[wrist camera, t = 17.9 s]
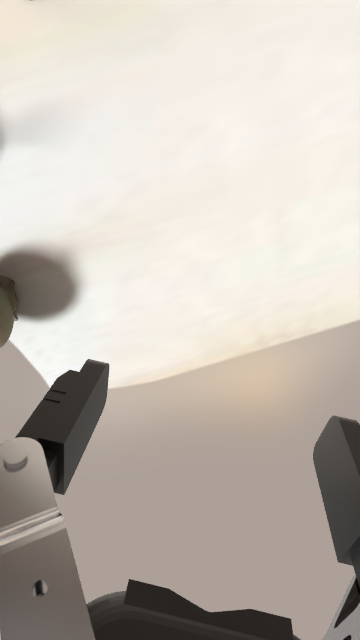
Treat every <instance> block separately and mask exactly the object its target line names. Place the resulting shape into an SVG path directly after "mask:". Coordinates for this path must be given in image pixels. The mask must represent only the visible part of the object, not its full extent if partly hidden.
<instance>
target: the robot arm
mask: <svg viewBox="0 0 360 640" xmlns="http://www.w3.org/2000/svg"><path fill="white" fill-rule="evenodd" d="M31 1H32V0H31ZM108 377H109V364H108V363H104V362H99V361H95V360H91V359H88V360H87V361H86V362H85V364H84V365H83V367H82V369H81V370H80V372H77V371H73V370H69V371H67V372H66V373H64V374H63V375H61V376H60V377H58V378H57V379H56V381H55V382H54V384H53V385H52V386H51V388H50V390H49V391H48V392H47V394H46V395H45V397H44V398H43V400H42V401H41V402H40V404H39V405H38V406H37V408H36V409H35V411H34V412H33V413H32V415H31V416H30V418H29V419H28V421H27V422H26V423H25V425H24V426H23V428H22V430H21V431H20V432H19V433H18V435H17V436H16V437H15V438H13V439H10V440H7V441H5V442H3V443H1V444H0V634H1V640H300V639H299V638H298V637H296V636H294V635H293V631H292V624H291V619H289V618H285V617H281V616H277V615H273V614H269V613H265V612H261V611H257V610H253V609H245V610H234V611H223V612H207V611H205V610H203V609H202V608H200V607H198V606H197V605H195V604H193V603H191V602H190V601H188V600H186V599H185V598H183V597H181V596H180V595H178V594H176V593H175V592H173V591H171V590H170V589H167V588H163V587H159V586H155V585H151V584H147V583H143V582H139V581H135V580H131V579H129V582H128V586H127V590H126V591H122V592H115V593H111V594H107V595H104V596H102V597H99V598H97V599H95V600H93V601H91V602H90V603H88V604H86V602H85V598H84V594H83V590H82V587H81V582H80V578H79V575H78V571H77V567H76V564H75V559H74V556H73V552H72V548H71V544H70V540H69V536H68V532H67V528H66V525H65V521H64V518H63V516H62V514H60V513H59V510H58V507H57V503H56V499H55V495H54V493H58V494H62V495H64V494H65V492H66V490H67V488H68V486H69V483H70V481H71V479H72V477H73V475H74V473H75V470H76V468H77V466H78V464H79V461H80V459H81V457H82V455H83V453H84V451H85V449H86V446H87V444H88V442H89V440H90V438H91V435H92V433H93V431H94V429H95V427H96V425H97V423H98V420H99V418H100V416H101V414H102V412H103V409H104V406H105V402H106V398H107V388H108ZM313 460H314V465H315V469H316V473H317V478H318V482H319V486H320V490H321V494H322V498H323V502H324V506H325V510H326V515H327V519H328V522H329V527H330V531H331V535H332V539H333V543H334V548H335V551H336V555H337V560H338V562H340V563H344V564H348V565H352V566H353V567H354V570H355V574H356V575H355V576H354V577H353V578H352V580H351V581H350V584H349V586H348V588H347V590H346V592H345V594H344V597H343V599H342V601H341V603H340V605H339V607H338V610H337V612H336V614H335V616H334V618H333V620H332V622H331V624H330V627H329V629H328V631H327V633H326V634H325V636H324V638H323V639H322V640H360V425H359V423H358V422H357V421H356V420H352V419H347V418H343V417H338V416H332V417H331V418H330V420H329V421H328V423H327V425H326V427H325V428H324V430H323V432H322V433H321V436H320V437H319V439H318V441H317V442H316V444H315V447H314V452H313Z"/></svg>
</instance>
